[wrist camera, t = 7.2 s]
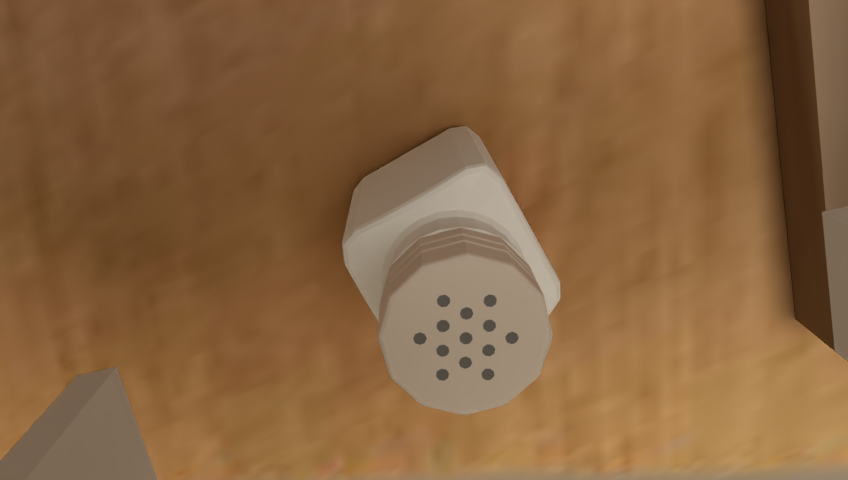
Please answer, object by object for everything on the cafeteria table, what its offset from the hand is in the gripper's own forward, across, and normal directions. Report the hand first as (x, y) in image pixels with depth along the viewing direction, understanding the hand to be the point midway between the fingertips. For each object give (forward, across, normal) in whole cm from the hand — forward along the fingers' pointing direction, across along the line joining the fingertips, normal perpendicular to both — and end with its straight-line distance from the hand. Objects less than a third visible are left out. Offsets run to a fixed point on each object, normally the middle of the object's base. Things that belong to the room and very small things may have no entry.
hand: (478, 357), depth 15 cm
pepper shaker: (+10, 0, +1) cm, 10 cm away
